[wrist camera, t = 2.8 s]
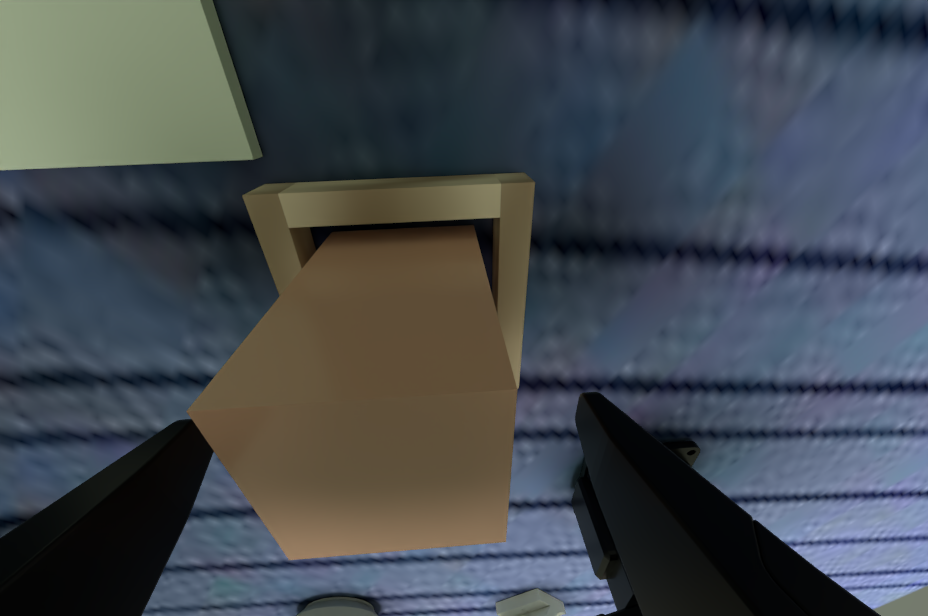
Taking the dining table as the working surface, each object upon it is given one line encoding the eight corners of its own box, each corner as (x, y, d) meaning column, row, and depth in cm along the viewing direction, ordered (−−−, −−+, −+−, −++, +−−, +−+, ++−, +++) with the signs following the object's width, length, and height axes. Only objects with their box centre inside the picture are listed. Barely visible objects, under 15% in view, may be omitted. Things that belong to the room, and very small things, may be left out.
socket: (524, 172, 11) (535, 182, 10) (512, 364, 16) (518, 388, 14) (265, 183, 11) (242, 195, 10) (329, 376, 15) (319, 401, 14)
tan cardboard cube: (473, 224, 12) (516, 389, 5) (475, 336, 15) (505, 542, 8) (332, 231, 12) (186, 411, 5) (359, 343, 14) (289, 559, 8)
